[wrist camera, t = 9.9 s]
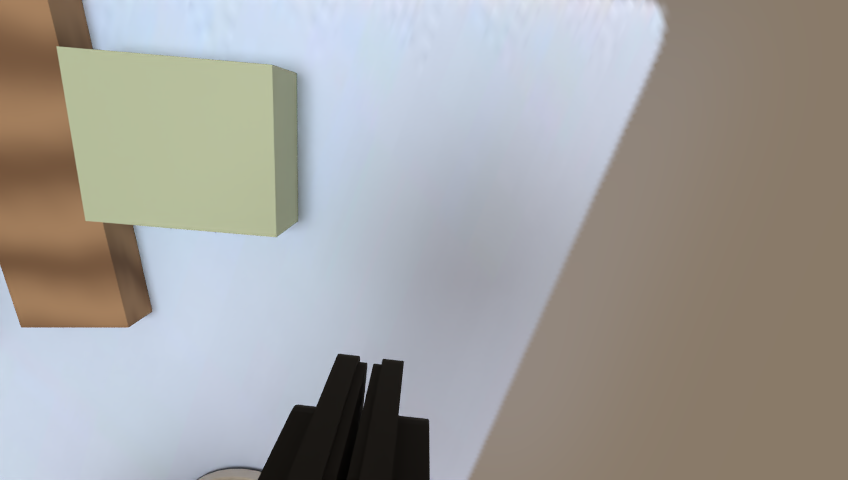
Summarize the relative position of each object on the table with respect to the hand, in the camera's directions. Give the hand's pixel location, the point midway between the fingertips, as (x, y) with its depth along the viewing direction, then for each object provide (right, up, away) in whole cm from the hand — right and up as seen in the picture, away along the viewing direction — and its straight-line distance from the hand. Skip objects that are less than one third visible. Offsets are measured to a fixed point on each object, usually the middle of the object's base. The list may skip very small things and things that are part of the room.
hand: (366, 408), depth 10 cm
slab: (-13, +11, +18) cm, 25 cm away
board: (-24, +9, +19) cm, 32 cm away
